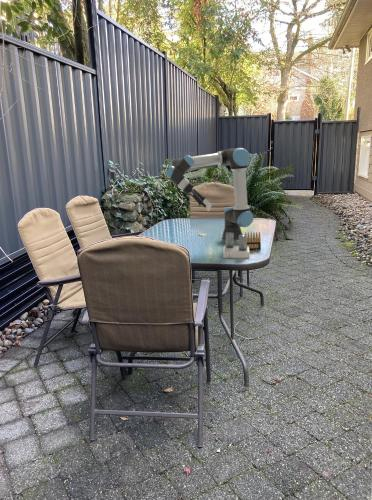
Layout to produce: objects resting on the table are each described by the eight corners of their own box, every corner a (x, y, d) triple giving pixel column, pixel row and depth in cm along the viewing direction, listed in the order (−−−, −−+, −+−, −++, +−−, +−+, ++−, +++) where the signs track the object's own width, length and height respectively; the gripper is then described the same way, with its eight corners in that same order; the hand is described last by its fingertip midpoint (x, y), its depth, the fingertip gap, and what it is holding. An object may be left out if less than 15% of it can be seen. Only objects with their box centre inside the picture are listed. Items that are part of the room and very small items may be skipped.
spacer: (225, 246, 247) (225, 232, 245) (233, 246, 246) (233, 232, 244) (225, 248, 242) (225, 234, 240) (233, 248, 242) (233, 233, 239)
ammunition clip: (260, 249, 253) (260, 231, 250) (260, 249, 251) (261, 231, 248) (244, 249, 253) (244, 231, 250) (244, 250, 251) (244, 232, 248)
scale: (223, 251, 251) (223, 245, 250) (248, 251, 248) (248, 245, 247) (222, 258, 235) (222, 251, 234) (249, 258, 232) (249, 251, 231)
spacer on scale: (238, 248, 239) (238, 234, 237) (246, 248, 239) (246, 234, 236) (238, 250, 234) (238, 236, 232) (247, 250, 234) (247, 236, 232)
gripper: (184, 188, 261) (207, 209, 262) (179, 192, 237) (205, 216, 239) (191, 180, 259) (215, 201, 260) (187, 183, 235) (213, 207, 236)
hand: (210, 208), depth 249 cm, fingers open, 13 cm apart
